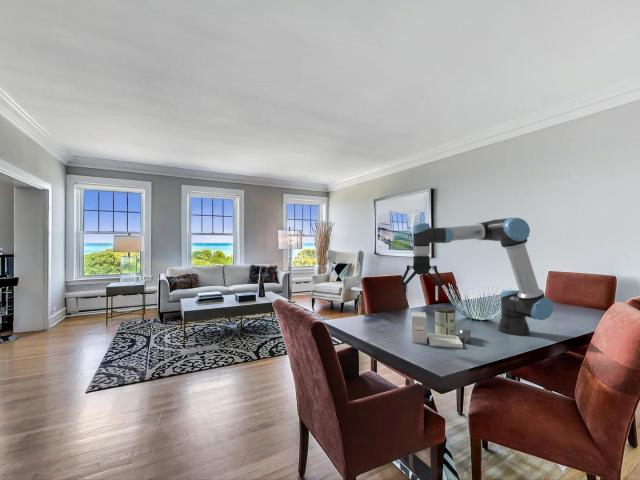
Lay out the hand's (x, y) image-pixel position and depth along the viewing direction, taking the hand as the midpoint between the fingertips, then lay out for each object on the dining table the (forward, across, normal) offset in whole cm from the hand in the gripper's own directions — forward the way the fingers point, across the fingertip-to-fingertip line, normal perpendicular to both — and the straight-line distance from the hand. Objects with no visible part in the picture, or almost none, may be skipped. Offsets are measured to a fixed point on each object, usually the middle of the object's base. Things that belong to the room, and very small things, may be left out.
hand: (421, 299), depth 151 cm
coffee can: (+22, -13, -22) cm, 34 cm away
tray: (+22, -11, -8) cm, 26 cm away
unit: (+22, +1, -10) cm, 24 cm away
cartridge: (+22, -21, -11) cm, 33 cm away
